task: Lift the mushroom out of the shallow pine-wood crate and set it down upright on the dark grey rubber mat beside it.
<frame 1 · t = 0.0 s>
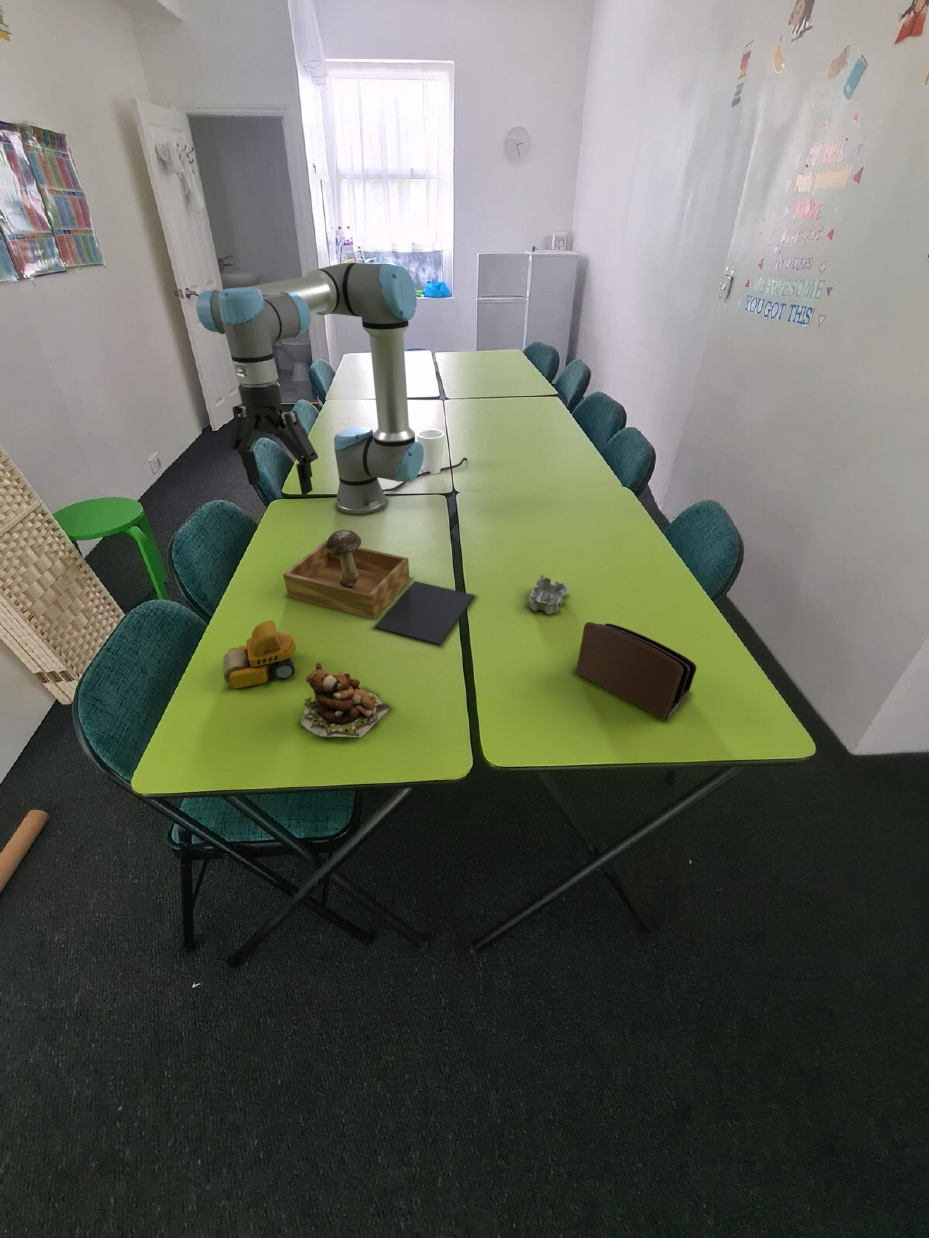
hand: (280, 487, 119), 28 cm above the table, tool pointing down, fingers open, 13 cm apart
mushroom: (350, 587, 138), resting on crate
crate: (350, 587, 139), on the table
bear figurine: (345, 715, 105), on the table
foam cup: (432, 471, 198), on the table
letter holder: (630, 684, 111), on the table
mat: (426, 612, 130), on the table
egg carton: (547, 602, 134), on the table
toy roller: (264, 671, 114), on the table
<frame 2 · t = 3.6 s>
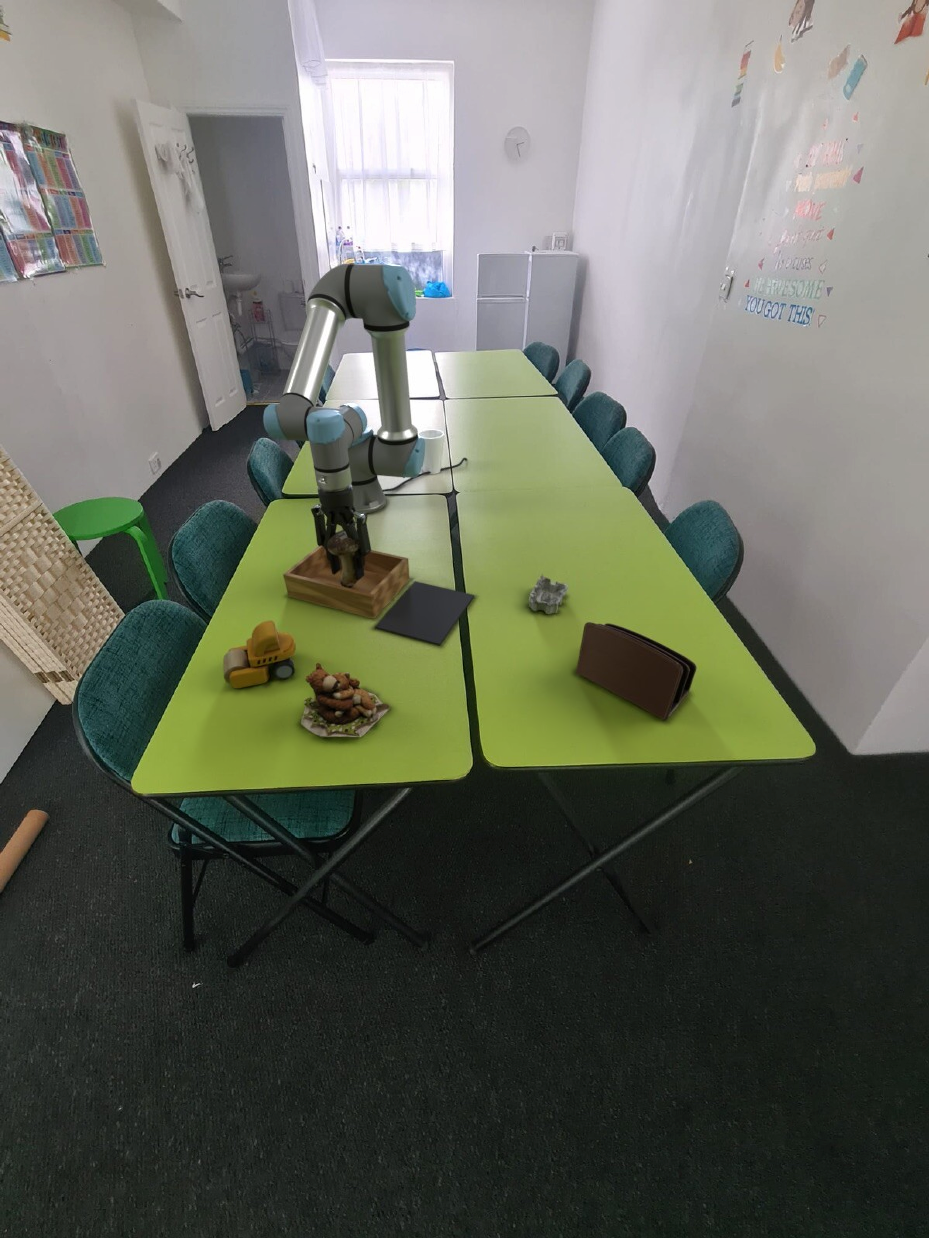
hand: (348, 574, 136), 4 cm above the table, tool pointing down, fingers closed on mushroom, 6 cm apart
mushroom: (350, 587, 138), resting on crate, touching gripper
everything else where it was.
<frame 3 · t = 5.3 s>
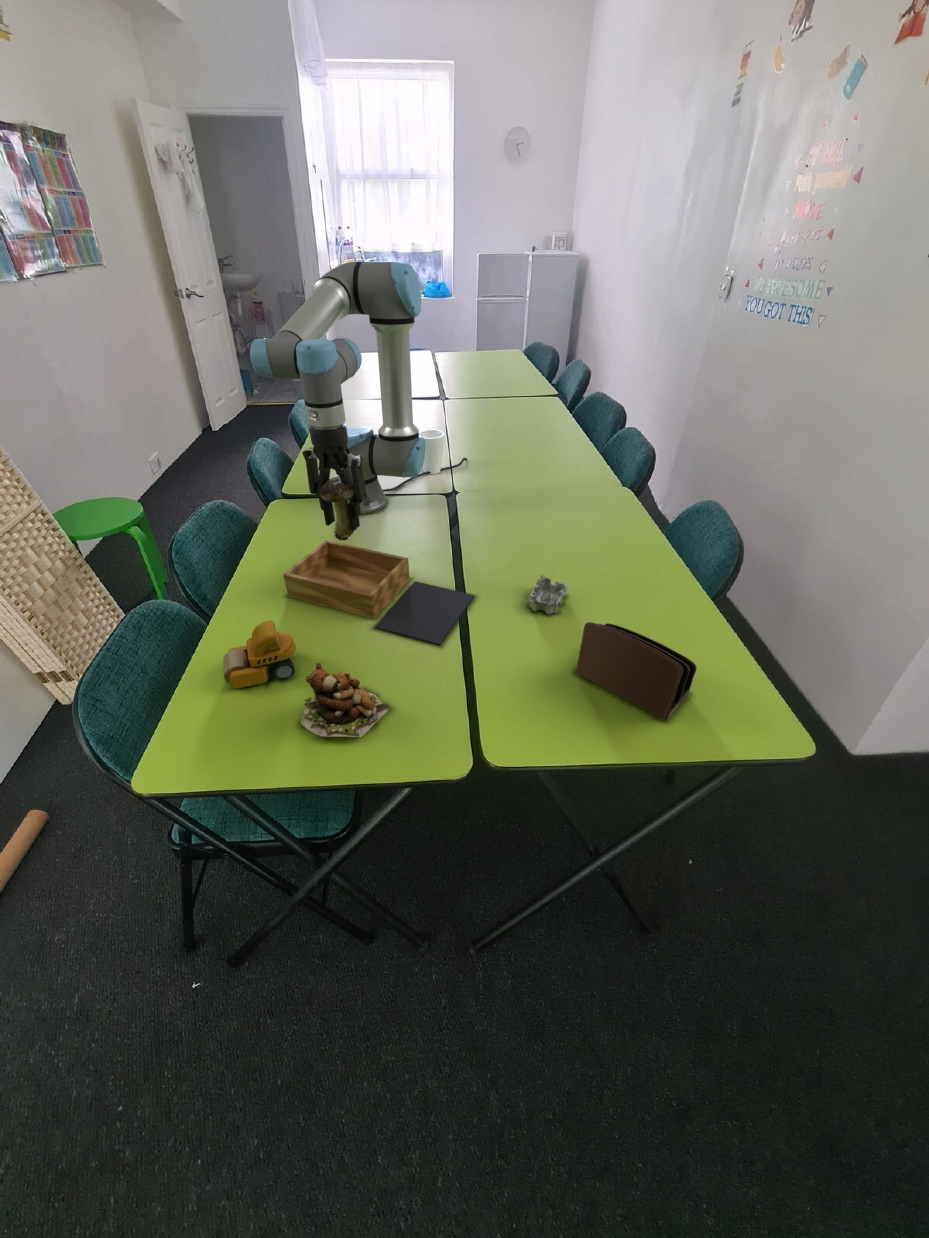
hand: (342, 525, 128), 17 cm above the table, tool pointing down, fingers closed on mushroom, 6 cm apart
mushroom: (345, 539, 130), point 14 cm above the table, touching gripper
everything else where it was.
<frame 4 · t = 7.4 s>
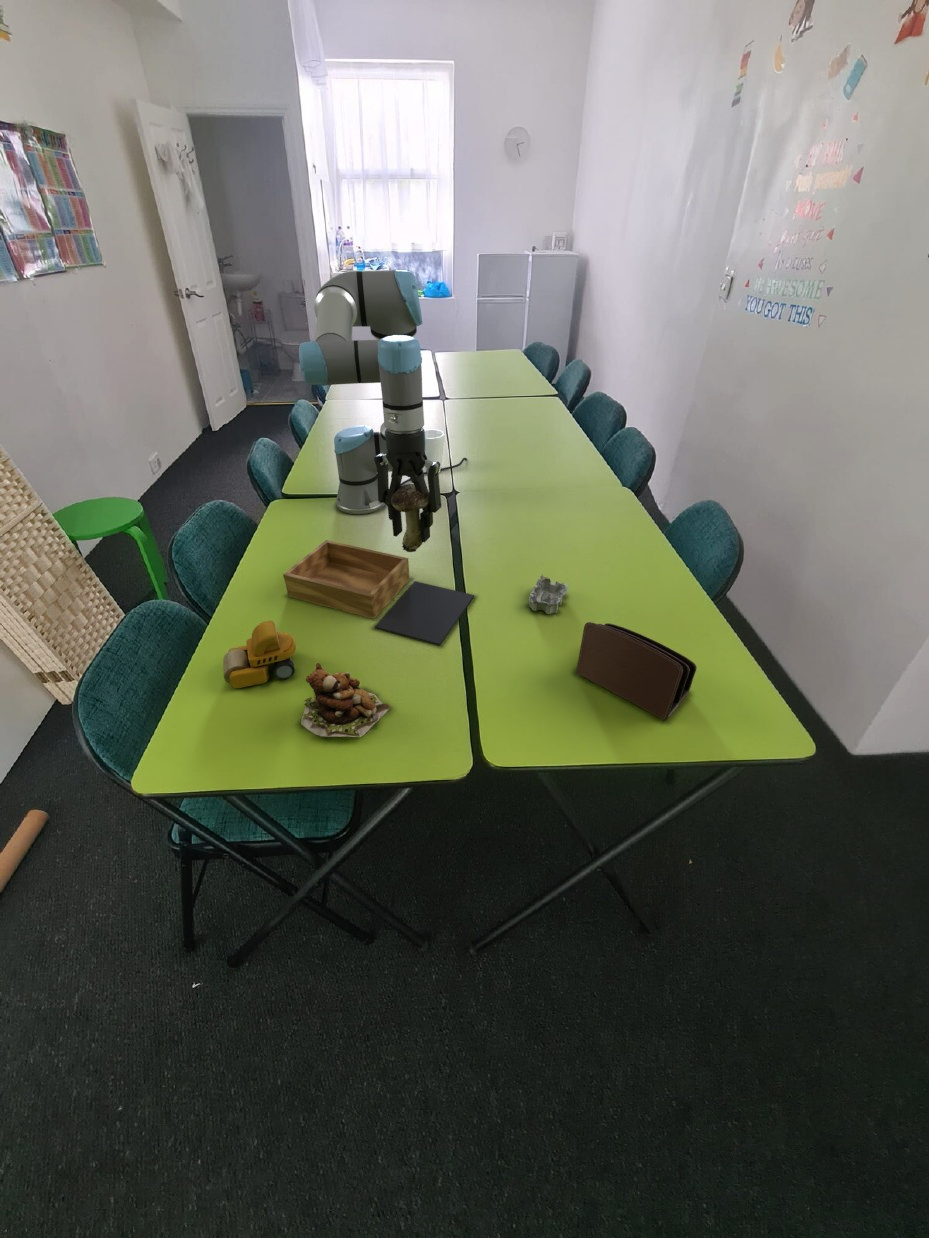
hand: (411, 536, 119), 19 cm above the table, tool pointing down, fingers closed on mushroom, 6 cm apart
mushroom: (412, 551, 122), point 16 cm above the table, touching gripper
everything else where it was.
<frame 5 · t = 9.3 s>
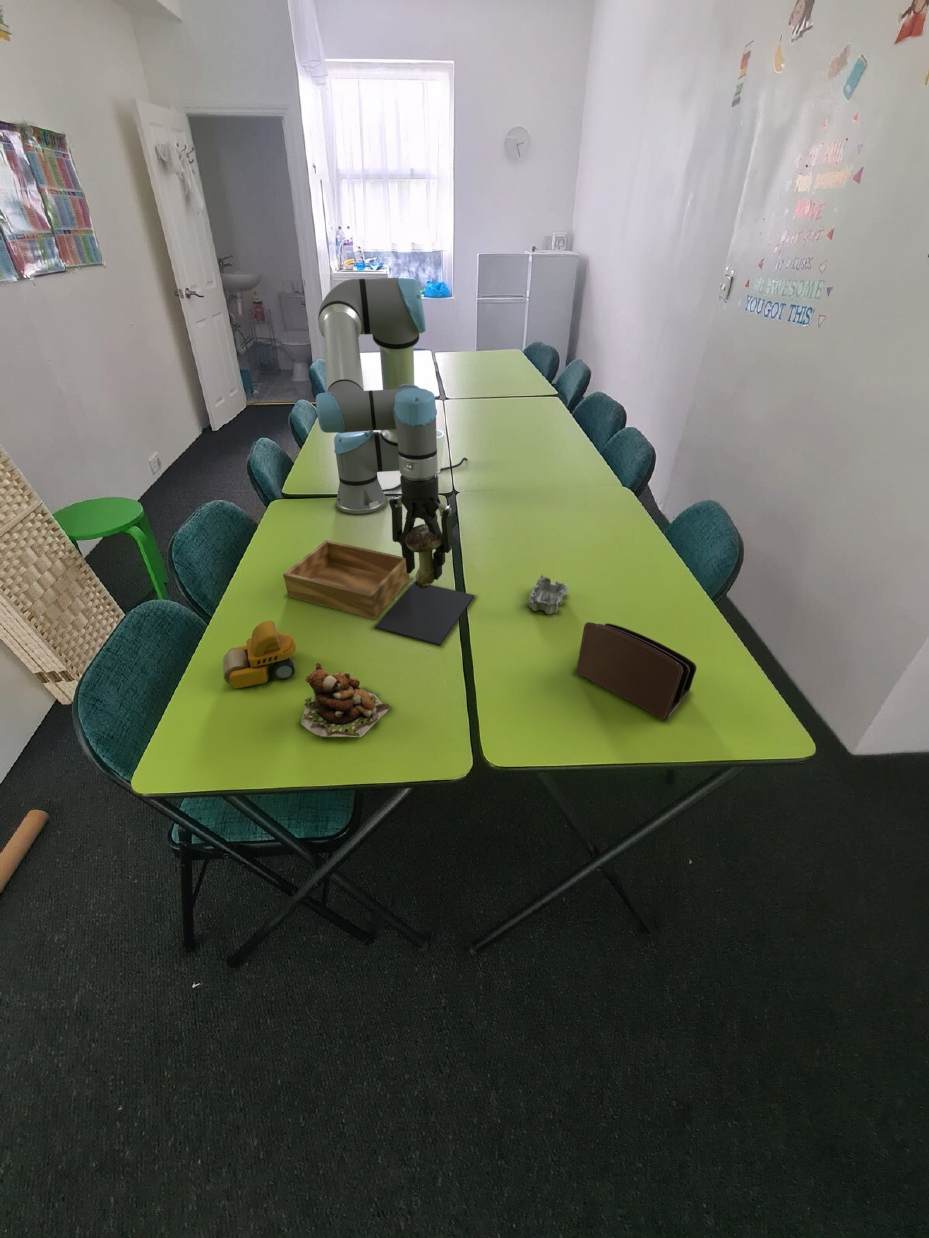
hand: (424, 573, 124), 11 cm above the table, tool pointing down, fingers closed on mushroom, 6 cm apart
mushroom: (425, 587, 126), point 7 cm above the table, touching gripper
everything else where it was.
when the fingers open (4 cm above the table, at t = 11.2 s): mushroom stays where it is, resting on mat.
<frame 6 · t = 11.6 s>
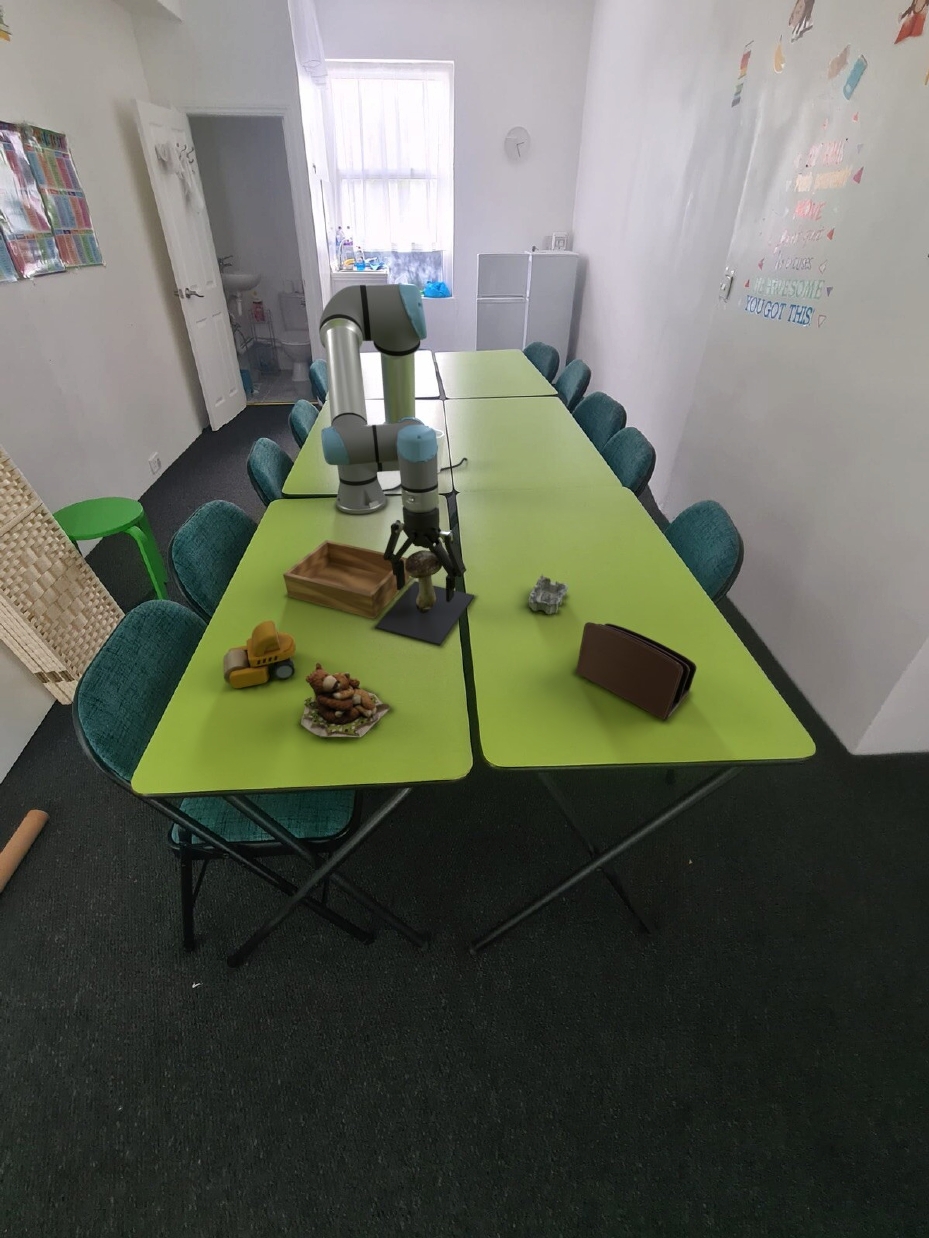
hand: (425, 593, 127), 5 cm above the table, tool pointing down, fingers open, 12 cm apart
mushroom: (425, 610, 130), resting on mat
everything else where it was.
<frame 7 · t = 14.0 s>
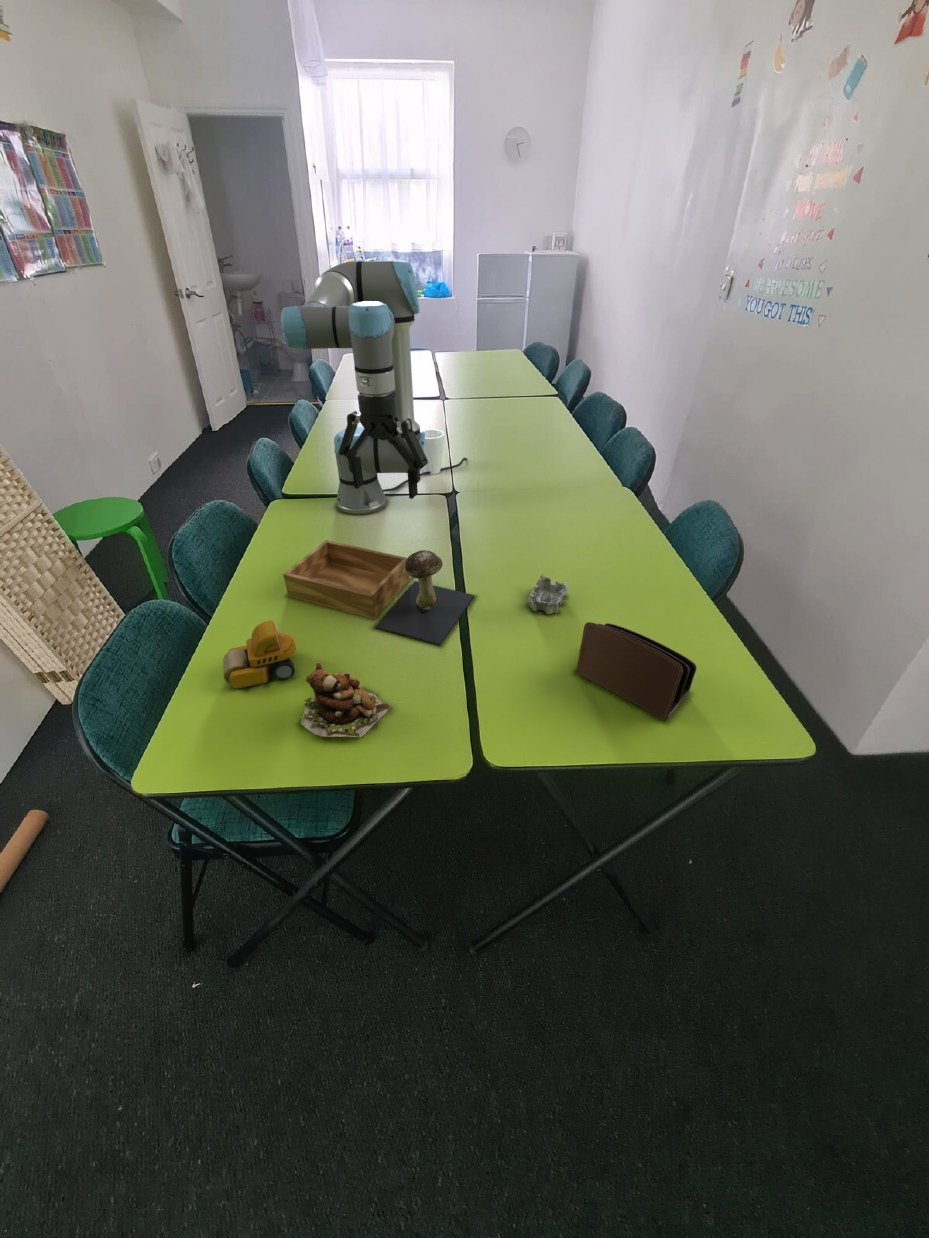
hand: (385, 491, 124), 25 cm above the table, tool pointing down, fingers open, 13 cm apart
nothing on the table moved.
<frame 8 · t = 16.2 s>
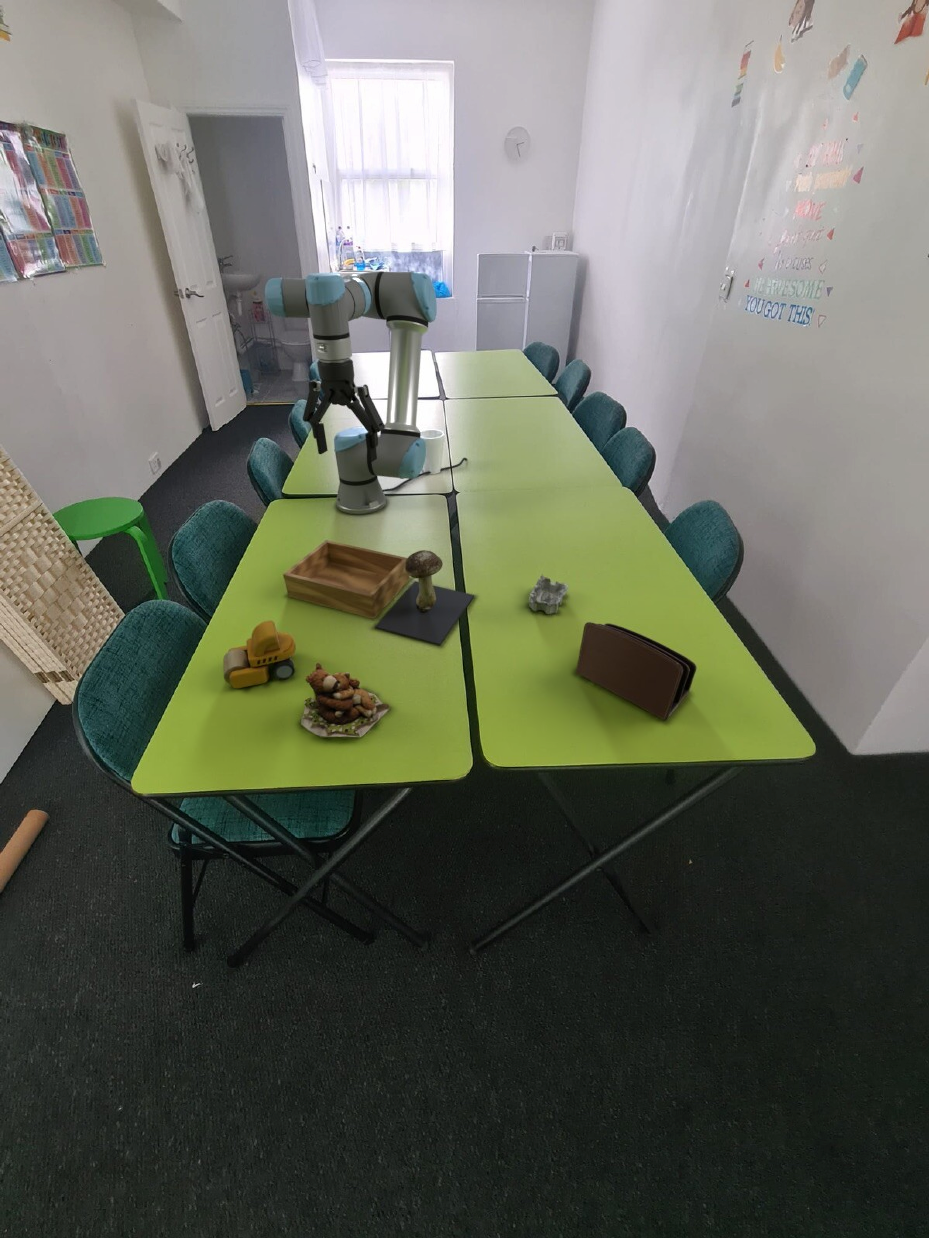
hand: (347, 456, 131), 29 cm above the table, tool pointing down, fingers open, 13 cm apart
nothing on the table moved.
at the end: mushroom inside the target area on the mat (0.2 cm from its centre), point 0.4 cm above the mat's base; mushroom tilted 0°; the gripper is holding nothing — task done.
